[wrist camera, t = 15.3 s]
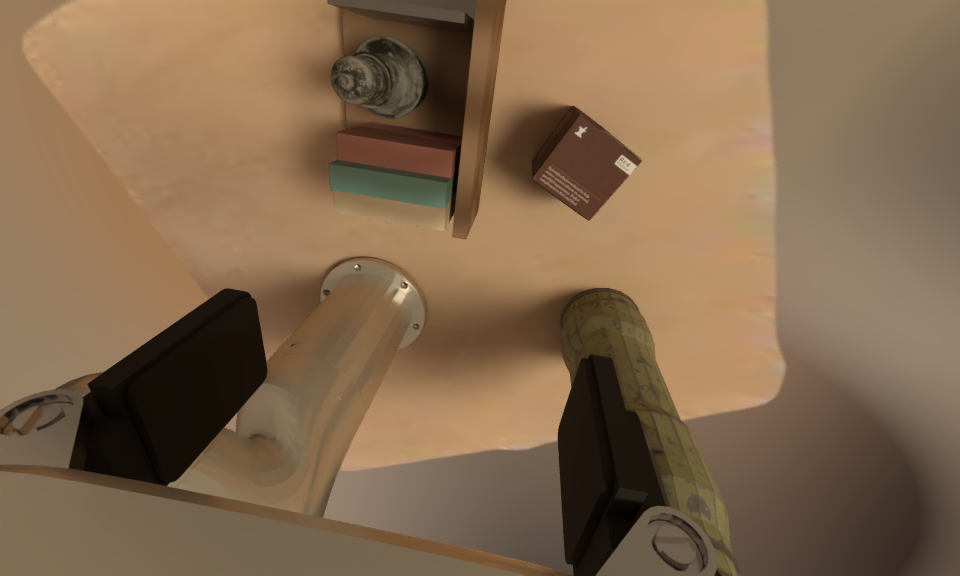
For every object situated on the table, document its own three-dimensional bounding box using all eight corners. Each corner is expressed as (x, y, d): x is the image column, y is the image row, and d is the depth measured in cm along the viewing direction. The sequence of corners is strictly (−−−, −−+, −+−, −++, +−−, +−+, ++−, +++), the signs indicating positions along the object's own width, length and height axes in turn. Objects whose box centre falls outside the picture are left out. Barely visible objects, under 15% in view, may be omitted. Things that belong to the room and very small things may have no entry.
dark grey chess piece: (399, 129, 37) (344, 152, 26) (353, 72, 35) (275, 73, 24) (446, 84, 34) (407, 90, 24) (400, 21, 33) (335, -2, 22)
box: (530, 161, 38) (529, 179, 31) (572, 103, 35) (581, 110, 28) (580, 198, 39) (589, 223, 32) (625, 145, 36) (644, 161, 30)
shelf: (478, 210, 40) (462, 248, 32) (352, 189, 41) (302, 221, 32) (511, -38, 31) (501, -82, 22) (345, -61, 31) (271, -113, 23)
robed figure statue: (576, 370, 48) (646, 877, 18) (545, 289, 44) (568, 792, 13) (651, 352, 46) (881, 908, 15) (627, 265, 41) (890, 816, 11)
